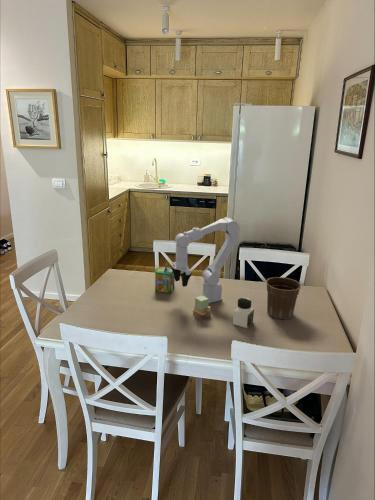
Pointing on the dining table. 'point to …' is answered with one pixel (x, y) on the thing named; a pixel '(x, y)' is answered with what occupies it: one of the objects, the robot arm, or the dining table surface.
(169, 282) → the chalk box
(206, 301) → the green cube
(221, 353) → the dining table surface
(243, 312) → the medicine bottle
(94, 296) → the dining table surface
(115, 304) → the dining table surface
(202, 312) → the oak slab
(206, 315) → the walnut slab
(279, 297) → the plant pot
